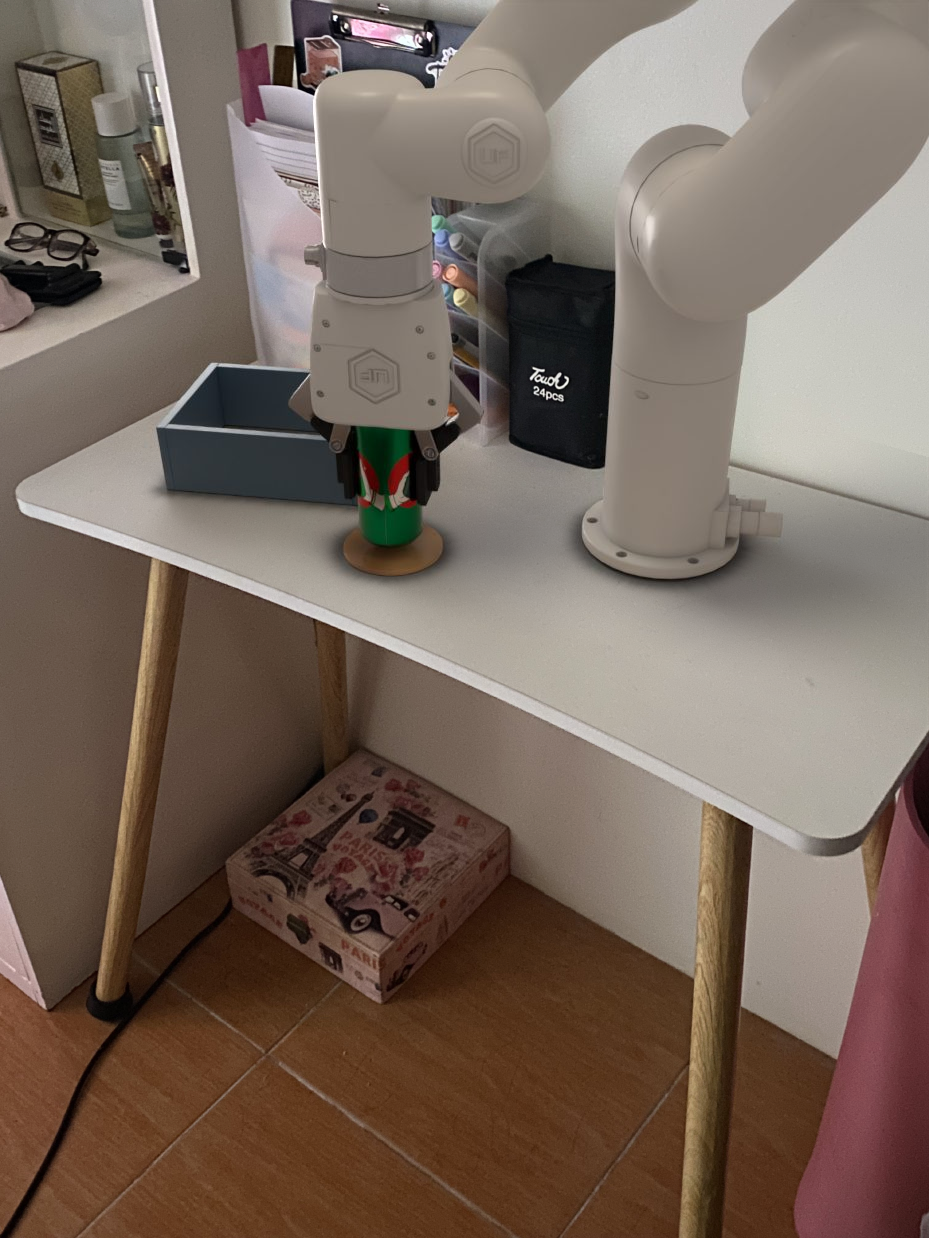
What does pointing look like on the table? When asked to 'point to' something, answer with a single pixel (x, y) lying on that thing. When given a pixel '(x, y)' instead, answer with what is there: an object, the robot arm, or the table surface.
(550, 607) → the table surface
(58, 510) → the table surface
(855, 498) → the table surface
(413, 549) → the coaster
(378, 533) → the soda can
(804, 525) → the table surface
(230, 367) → the frame
